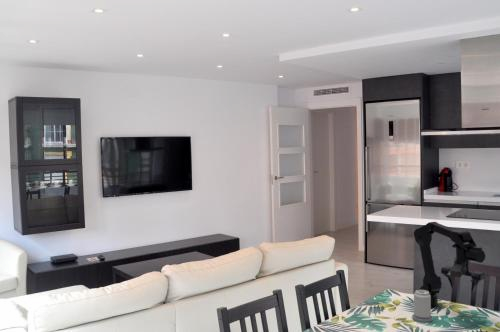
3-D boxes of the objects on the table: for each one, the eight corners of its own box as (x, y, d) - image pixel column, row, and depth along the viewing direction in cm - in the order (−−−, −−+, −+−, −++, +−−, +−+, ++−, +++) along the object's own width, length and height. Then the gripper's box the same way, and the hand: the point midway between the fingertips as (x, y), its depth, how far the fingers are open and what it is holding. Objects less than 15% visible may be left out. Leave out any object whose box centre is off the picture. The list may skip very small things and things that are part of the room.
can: (428, 313, 231) (427, 288, 230) (432, 319, 224) (432, 293, 223) (412, 313, 232) (411, 288, 231) (416, 319, 224) (416, 293, 224)
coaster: (408, 319, 228) (408, 316, 228) (418, 314, 234) (418, 311, 234) (426, 324, 221) (426, 321, 221) (436, 318, 227) (436, 316, 227)
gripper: (435, 258, 227) (435, 290, 228) (475, 264, 213) (475, 299, 214) (446, 254, 235) (446, 285, 236) (485, 260, 221) (485, 293, 222)
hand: (462, 291), depth 227 cm, fingers open, 9 cm apart
